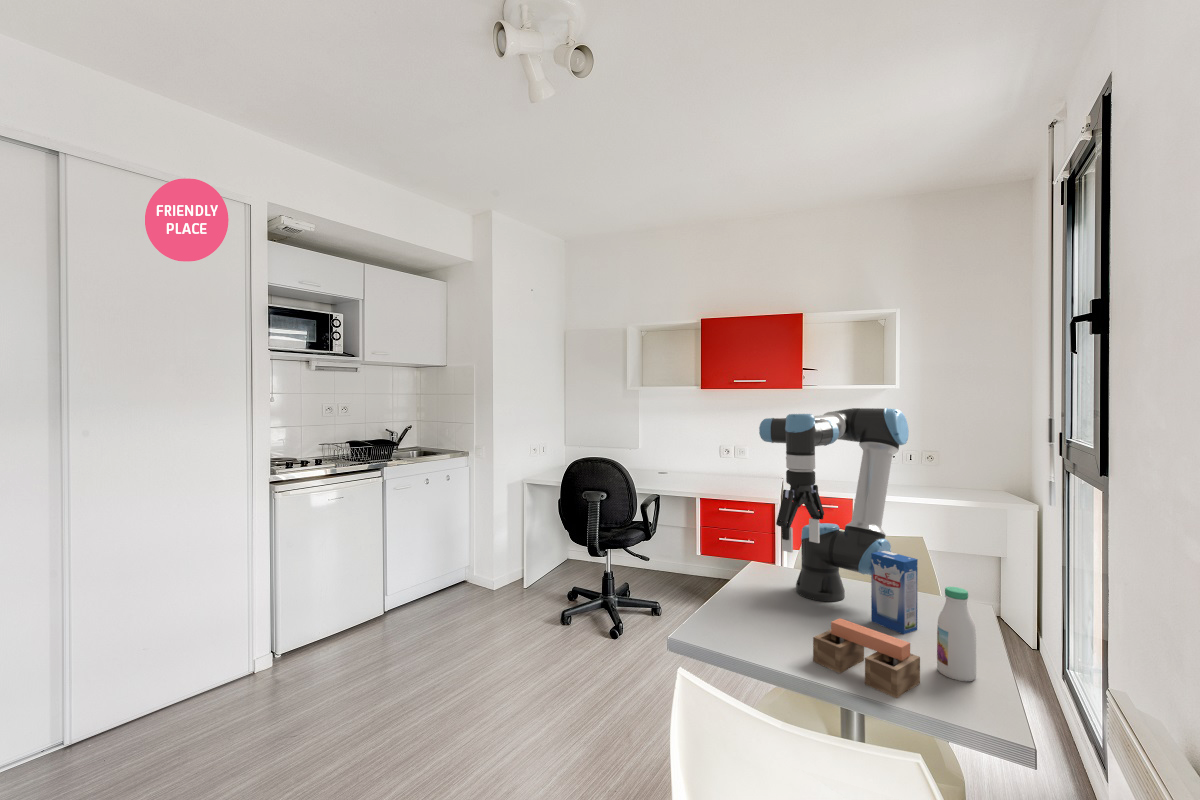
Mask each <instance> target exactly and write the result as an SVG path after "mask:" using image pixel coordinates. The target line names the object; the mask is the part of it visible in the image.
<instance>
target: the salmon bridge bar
mask: <svg viewBox="0 0 1200 800" xmlns="http://www.w3.org/2000/svg"><path fill="white" fill-rule="evenodd" d="M830 624H831V625H830V630H831V634H833V635H835V636H838V637H840V644H841V643H843V642H844V639H846V640H848V641H851V642H854V643H856V644H859V645H862V646H864V648H867V649H870V650H873V651H875V652H880V653H882V654H885V655H888V656H890V657H893V664H891V666H893V667H894V666H896V665H898V660H901V661H902V660H904V659H906V658H908V657H909V656H910V653H911V642H908V641H906V640H903V639H900V638H898V637H894V636H891V635H889V634H886V633H884V632H880V631H878V630H875V629H872V628H869V627H867V626H866V627H865V626H862V625H861V624H858V623H854V622H852V621H849V620H846V619H843V618H840V617H839V618H838V619H835V620H832V621H830Z"/></svg>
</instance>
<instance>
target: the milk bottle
mask: <svg viewBox="0 0 1200 800" xmlns="http://www.w3.org/2000/svg"><path fill="white" fill-rule="evenodd" d="M944 597H945V603H944V604H943V607H942V610H941V611H940V612H939V615H938V618H937V624H936V625H937V627H936V628H937V629H936V631H937V632H936V653H937V654H936V667H937V670H938V672H939V673H940V674H941V675H943V676H945V677H947V678H950V679H952V680H956V681H960V682H973V681H975V679H976V678H977V629H976V623H975V620H974V619H973V618H974V617H973V616H972V614H971V611H970V609H969V606H968V602H969V592H968V590H966V589H964V588H962V587H957V586H946V587H944Z"/></svg>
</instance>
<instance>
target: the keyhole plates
mask: <svg viewBox="0 0 1200 800" xmlns="http://www.w3.org/2000/svg"><path fill="white" fill-rule="evenodd" d="M812 639H813V640H812V646H813V647H812V662H813V663H815V664H818V665H820V666H822V667H824V668H827V669H829V670H832V671H833V672H836V673H838V674H841V673H843V672H845V671H847V670H849V669H851V668H853V667H855V666H857V665H858V664H861V663H862V662H864V685H866V686H868V687H871V688H872V689H874V690H877V691H879V692H881V693H883V694H886V695H888V696H891V697H892V698H896V699H898V698H900V697H902V696H903V695H904V694H906V693H908V692H909V691H910V690H912V689H914V688H916V686H919V685H920V684H921V656H919V655H916V654H913V653H911V652H910V656H909V657H908V658H906V659H904V660H902V661H901V660H898V665H896V666H894V667H893V666H891V664H893V657H890V656H888V655H885V654H882V653H880V652H877V651H875V652H873V653H872V654H870V655H868V656H866V657H865V647H864V646H862V645H859V644H856V643H854V642H851V641H848V640H846V639H844V642H843V643H841V644H840V637H838V636H835V635H833V634H831V629H828V630H827V631H824V632H821V633H820V634H817V635H815V636H813V638H812Z"/></svg>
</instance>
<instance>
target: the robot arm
mask: <svg viewBox="0 0 1200 800" xmlns="http://www.w3.org/2000/svg"><path fill="white" fill-rule="evenodd" d="M758 429H759V430H758V431H759V432H758V433H759V437H760V439H761V440H762V441H763V442H766V443H771V444H785V455H786V456H785V461H786V463H785V465H786V466H785V467H786V468H787V470H786V471H785V475H786V476H785V478H786V479H785V482H786V483H787V484H788V485H789V489H783V490H782V498H781V503H780V506H779V510H778V514H777V517H776V518H777V519H776V522H775V525H776V526H777V527H781V547H782V548H781V549H782V550H781V551H783V552H787V553H791V554H792V553H793V551H794V546H793V545H794V544H793V543H794V542H793V541H794V536H793V535H794V534H793V532H794V531H793V529H794V528H793V527H792V524H793V522H794V519H795V517H796V514H797V512H798V509H799V508H800V507H802V505H804V507H805V509H806V510H807V512H808V514H809V516H810V518H808V524H806V525H804V526H803V527H802V528H801V535H800V536H801V537H800V541H801V552H800V553H801V568H800V572H799V575H798V577H797V579H796V583H795V592H796V593H797V594H799V596H802V597H803V598H806V599H809V600H814V601H818V602H819V601H821V602H839V601H842V600H844V599H845V597H846V593H845V587H844V584H843V582H842V579H841V575H840V569H843V570H846V571H847V570H848V571H850V572H851V571H852V572H855V573H859V574H862V575H867V576H868V575H869V576H871V553H875V552H880V551H888V552H892V545H891V543H890V542H889V541H888V539H886V533H885V531H884V530H883V529H882V524H883V518H884V511H885V506H886V498H887V492H888V486H889V480H890V479H889V478H890V473H891V468H892V467H891V465H892V460H893V455H895V454H897V453H898V452H899V448H900V446H903V445H906V444H907V443H908V442H907V441H908V439H909V423H908V421H907V418H906V416H905V414H904V413H903V411H901V409H900V410H899V409H897V408H888V407H885V408H880V407H879V408H878V407H877V408H869V407H868V408H867V407H865V408H863V407H861V408H860V407H859V408H857V407H855V408H854V407H853V408H852V407H851V408H846V409H840V410H835V411H828V412H825V413H824V414H822V415H814V414H813V413H789V414H787V415H786V417H781V418H778V417H777V418H775V417H769V418H768V417H767V418H764V419H762V421H761V422H760V424H759V427H758ZM837 440H841V441H847V442H856V443H859V444H858V446H859V447H860V448H861V449H862V456H861V462H860V469H859V475H858V480H857V486H856V492H855V493H856V494H855V498H854V505H853V509H852V516H851V521H850V522H848V523H847V524H845V526H844V531H843V530H840V529H841V528H840V526H839V525H838V524H836V523H830V522H829V523H827V522H826V523H821V522H820V520H822V521H823V520H824V516H825V512H824V508H823V504H822V501H821V497H820V493H819V486H818V485H817V484H816V472H815V469H816V447H821V446H823V447H825V446H829V445H831V444H834V443H835V442H836V441H837Z"/></svg>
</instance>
